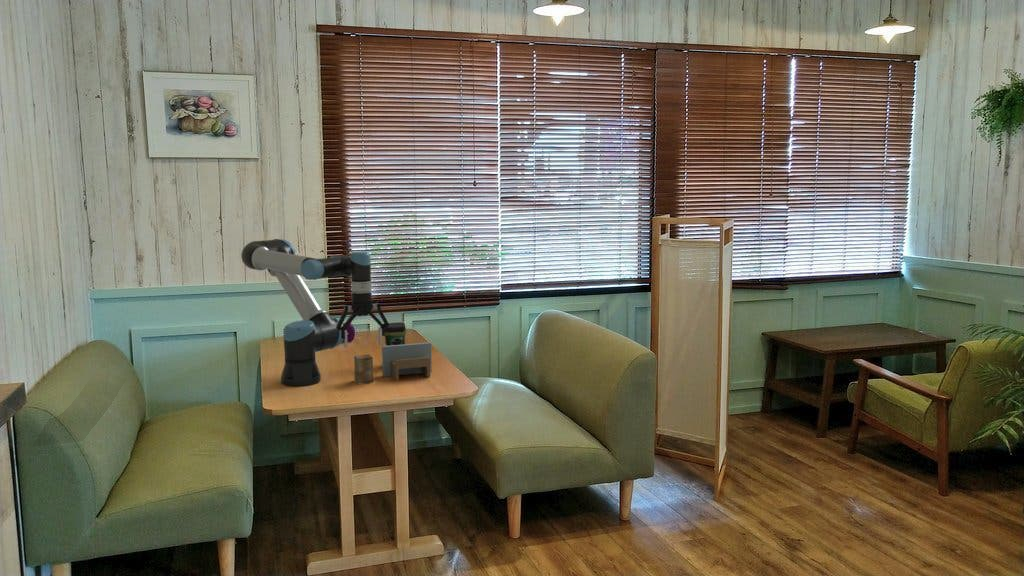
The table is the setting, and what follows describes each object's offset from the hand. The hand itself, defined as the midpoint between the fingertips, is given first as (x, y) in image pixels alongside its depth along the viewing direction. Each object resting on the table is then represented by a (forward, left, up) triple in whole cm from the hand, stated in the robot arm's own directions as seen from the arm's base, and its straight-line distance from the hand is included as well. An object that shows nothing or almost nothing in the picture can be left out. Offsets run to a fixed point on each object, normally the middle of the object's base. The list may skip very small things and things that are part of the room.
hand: (363, 345), depth 305 cm
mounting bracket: (+3, +84, -15) cm, 85 cm away
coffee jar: (+18, +22, -15) cm, 32 cm away
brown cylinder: (0, 0, -14) cm, 14 cm away
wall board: (+19, +2, -14) cm, 24 cm away
